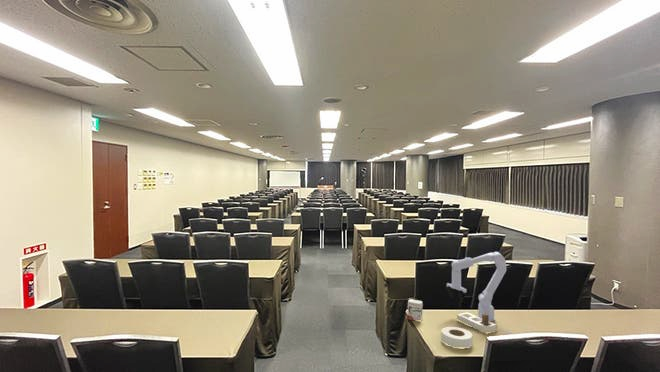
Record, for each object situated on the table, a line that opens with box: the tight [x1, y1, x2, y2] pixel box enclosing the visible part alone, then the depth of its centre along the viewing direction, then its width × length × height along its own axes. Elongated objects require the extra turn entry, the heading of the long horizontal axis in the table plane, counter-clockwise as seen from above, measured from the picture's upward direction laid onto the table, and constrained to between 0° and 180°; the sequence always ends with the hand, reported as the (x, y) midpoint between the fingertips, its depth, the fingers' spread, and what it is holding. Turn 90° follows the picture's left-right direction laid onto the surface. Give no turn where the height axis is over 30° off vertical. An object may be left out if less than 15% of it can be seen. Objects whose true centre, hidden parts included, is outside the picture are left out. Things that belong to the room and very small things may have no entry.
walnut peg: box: [482, 314, 489, 326], centre depth 192 cm, size 4×4×8 cm
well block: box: [456, 312, 498, 333], centre depth 198 cm, size 9×21×4 cm, turn 27°
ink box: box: [407, 298, 424, 321], centre depth 207 cm, size 9×5×12 cm, turn 62°
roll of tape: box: [440, 326, 473, 347], centre depth 177 cm, size 16×16×6 cm
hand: (456, 300), depth 213 cm, fingers open, 7 cm apart
